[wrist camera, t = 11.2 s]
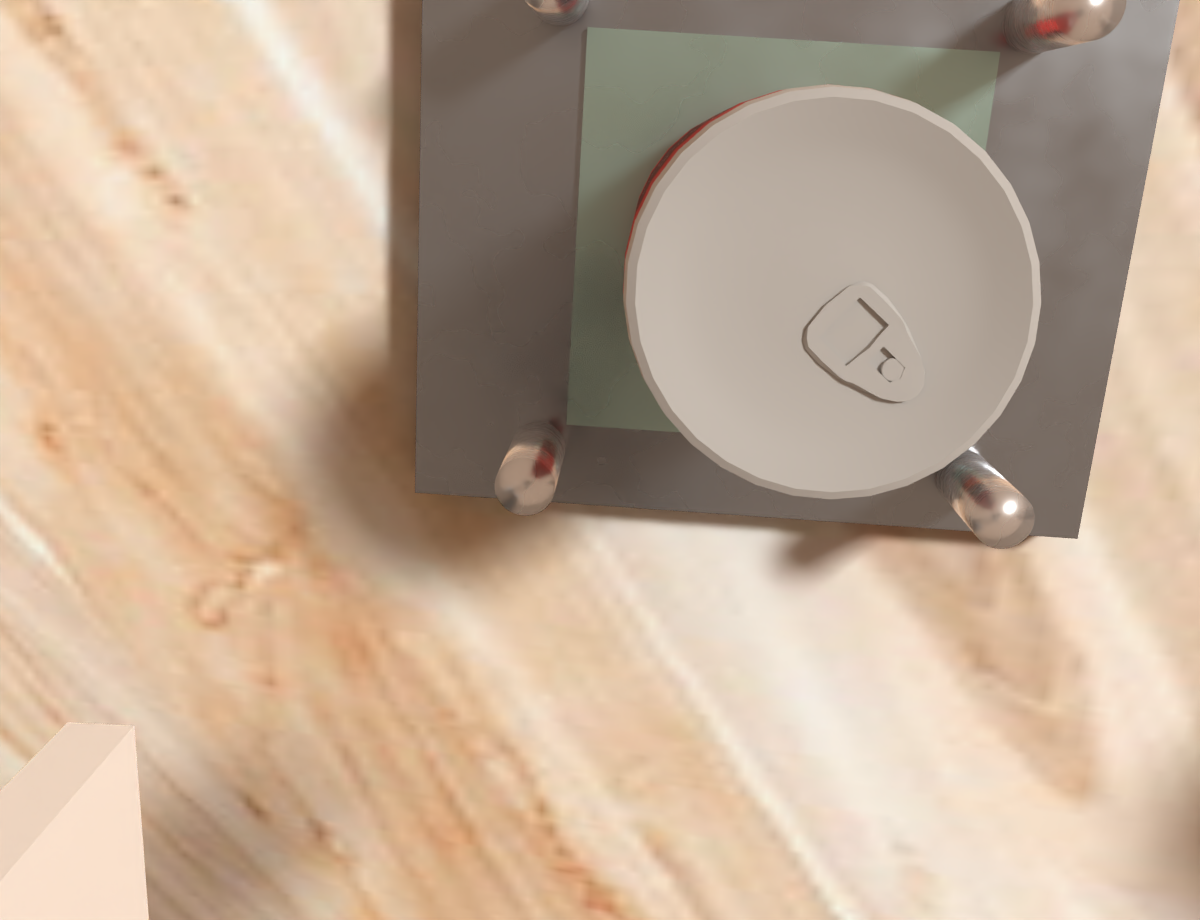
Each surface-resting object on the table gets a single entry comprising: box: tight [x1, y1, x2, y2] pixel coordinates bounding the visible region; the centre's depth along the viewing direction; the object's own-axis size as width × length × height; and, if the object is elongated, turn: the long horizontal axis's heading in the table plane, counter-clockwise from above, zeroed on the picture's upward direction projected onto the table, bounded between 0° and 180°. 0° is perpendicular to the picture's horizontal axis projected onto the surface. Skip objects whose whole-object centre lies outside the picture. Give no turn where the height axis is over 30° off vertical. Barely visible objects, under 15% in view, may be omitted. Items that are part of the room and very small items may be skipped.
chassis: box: [415, 0, 1180, 549], centre depth 30 cm, size 20×16×6 cm
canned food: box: [623, 84, 1041, 499], centre depth 26 cm, size 8×8×11 cm
